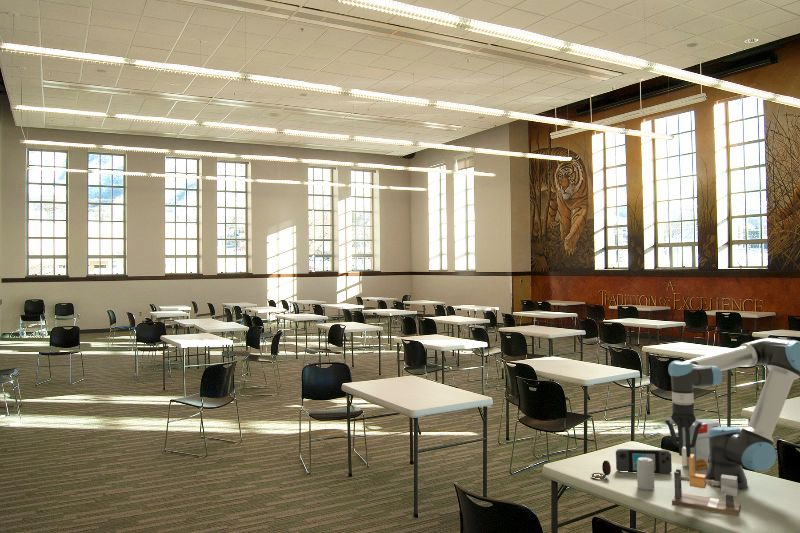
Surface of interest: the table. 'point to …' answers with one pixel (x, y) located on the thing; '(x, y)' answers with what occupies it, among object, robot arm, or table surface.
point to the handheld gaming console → (629, 457)
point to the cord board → (705, 503)
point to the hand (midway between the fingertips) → (685, 464)
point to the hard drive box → (700, 443)
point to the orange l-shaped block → (695, 474)
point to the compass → (604, 470)
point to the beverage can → (645, 473)
